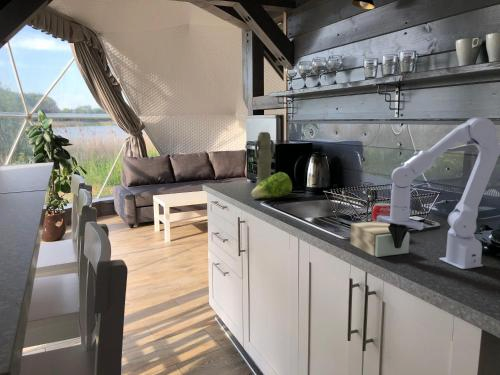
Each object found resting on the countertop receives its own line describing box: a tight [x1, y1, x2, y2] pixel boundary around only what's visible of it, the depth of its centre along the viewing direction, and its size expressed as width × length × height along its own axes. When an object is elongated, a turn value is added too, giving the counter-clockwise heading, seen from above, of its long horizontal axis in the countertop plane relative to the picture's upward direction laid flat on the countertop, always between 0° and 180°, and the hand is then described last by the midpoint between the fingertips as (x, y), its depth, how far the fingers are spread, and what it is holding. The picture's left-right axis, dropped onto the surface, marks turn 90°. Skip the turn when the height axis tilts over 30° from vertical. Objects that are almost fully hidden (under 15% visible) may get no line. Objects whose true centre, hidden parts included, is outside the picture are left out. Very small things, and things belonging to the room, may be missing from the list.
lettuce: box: [250, 171, 293, 199], centre depth 237 cm, size 14×23×13 cm, turn 116°
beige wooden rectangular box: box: [349, 220, 391, 257], centre depth 147 cm, size 14×12×7 cm
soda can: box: [371, 202, 391, 222], centre depth 163 cm, size 7×7×12 cm
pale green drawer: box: [374, 231, 410, 258], centre depth 146 cm, size 14×12×7 cm
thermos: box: [254, 131, 275, 186], centre depth 254 cm, size 9×12×35 cm
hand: (397, 247), depth 137 cm, fingers closed
